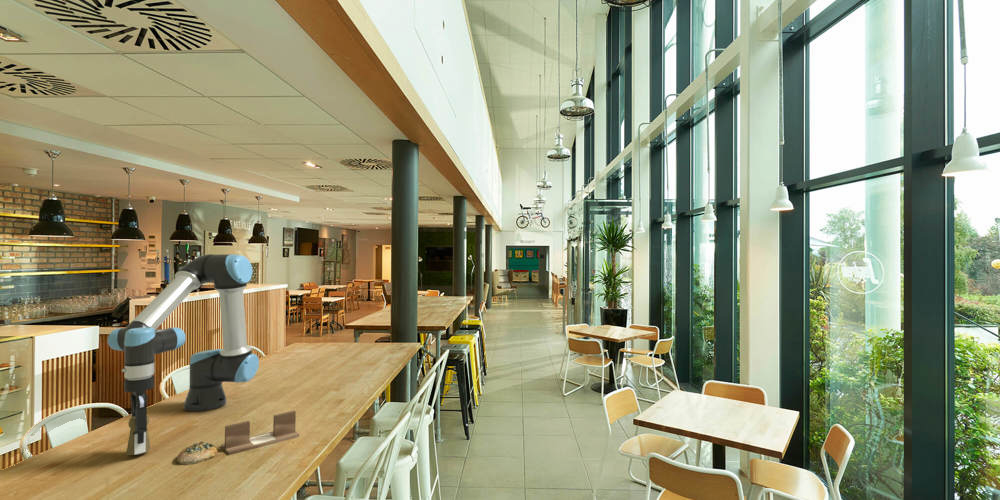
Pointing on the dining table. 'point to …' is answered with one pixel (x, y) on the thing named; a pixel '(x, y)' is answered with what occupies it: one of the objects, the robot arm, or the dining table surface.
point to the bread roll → (197, 453)
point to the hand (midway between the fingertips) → (138, 449)
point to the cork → (132, 437)
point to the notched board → (241, 440)
